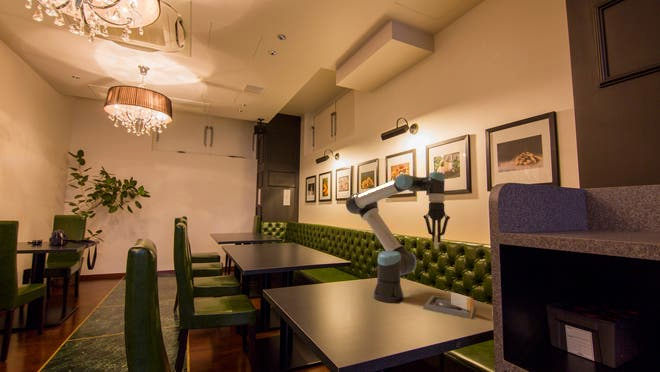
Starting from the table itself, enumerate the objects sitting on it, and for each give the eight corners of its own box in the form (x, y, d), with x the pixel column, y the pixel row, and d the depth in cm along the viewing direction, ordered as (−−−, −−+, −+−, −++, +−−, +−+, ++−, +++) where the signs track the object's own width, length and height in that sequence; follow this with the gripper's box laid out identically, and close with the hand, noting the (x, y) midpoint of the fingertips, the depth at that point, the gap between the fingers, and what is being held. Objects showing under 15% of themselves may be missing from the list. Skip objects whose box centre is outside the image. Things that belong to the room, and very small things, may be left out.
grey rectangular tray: (421, 311, 128) (421, 304, 129) (430, 301, 144) (430, 294, 144) (471, 321, 118) (471, 313, 119) (474, 309, 134) (474, 302, 134)
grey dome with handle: (430, 305, 133) (430, 289, 134) (446, 302, 139) (446, 287, 139) (463, 318, 119) (462, 299, 119) (479, 314, 124) (479, 297, 124)
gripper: (421, 201, 147) (421, 248, 145) (449, 202, 140) (449, 250, 138) (425, 202, 153) (424, 246, 151) (451, 202, 147) (451, 249, 145)
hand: (436, 248), depth 145 cm, fingers closed
